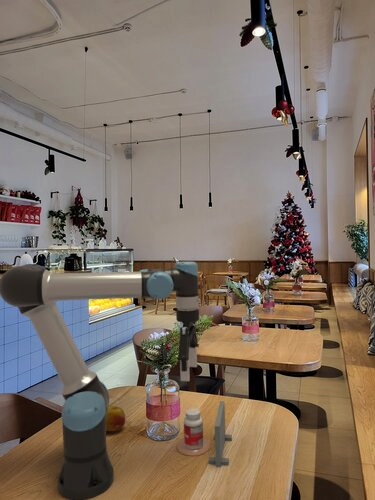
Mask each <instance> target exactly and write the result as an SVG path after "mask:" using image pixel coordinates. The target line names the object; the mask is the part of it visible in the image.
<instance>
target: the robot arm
mask: <svg viewBox="0 0 375 500" xmlns="http://www.w3.org/2000/svg"><path fill="white" fill-rule="evenodd" d="M173 292H175V309H176V311H175V316H176V321H177V322H178V323H181V324H182V326H180V327H179V343H178V357H177V361H179V368H180V369H179V375H180V382H190V368H197V367H198V354H197V353H198V351H197V350H198V349H197V348H199V346H200V344H199V341H198V336H197V327H196V322H198V321H199V320H200V309H199V308H200V307H199V306H200V305H199V303H200V302H201V298H199V269H198V263H197V262H195V261H177V262H175V264H174V267H172V268H171V267H170V268H146V269H141V270H139V271H125V272H122V271H121V272H120V271H119V272H117V271H115V272H74V273H73V272H71V273H69V272H68V273H67V272H65V273H62V272H61V273H51V272H50V271H49V270H48V269H46V268H45V267H43V266H41V265H39V264H35V263H27V264H24V265H18V266H14V267H11V268H9V269H8V270H6V271H5V272H4V273H3V274H2V276H1V277H0V297H1V299H2V300H3V301H4V302H5V303H7V304H8V305H10V306H13V307H17V308H18V310H19V313H20V315H22V316H23V317H28V318H29V320H30V321H31V322H30V323H31V324H32V326H33V328H34V330H35V332H36V333H37V336H38V338H39V339H40V342H41V343H42V345H43V347H44V350H45V351H46V353H47V356H48V357H49V360H50V361H51V363H52V365H53V367H54V370H55V371H56V374H57V376H58V377H59V380H60V381H61V383H62V385H63V387H62V390H61V395H62V397H63V400H64V403H63V405H62V410H61V421H62V441H63V442H62V443H63V446H62V447H63V461H62V464H61V466H60V467H61V468H60V470H59V474H58V478H57V487H58V488H57V490H58V492H59V494H60V495H61V496H62V497H64V498H66V499H69V500H86V499H91V498H94V497H96V496H99V495H101V494H103V493H104V492H105V491H107V490H108V489H109V488H110V487H111V486H112V484H113V482H114V480H115V476H114V474H115V473H114V467H113V464H112V461H111V459H110V456H109V453H108V450H107V431H106V417H107V410H108V406H110V394H109V393H110V392H109V390H108V388H107V387H106V384H104V383H103V382H102V381H101V380H100V378H99V377H98V375H97V373H96V372H94V371H90V369H89V367H88V366H87V364H86V362H85V360H84V358H83V356H82V353H81V351H80V350H79V348H78V345H77V343H76V341H75V340H74V338H73V336H72V334H71V332H70V329H69V328H68V325H67V324H66V321H65V320H64V318H63V316H62V313H61V311H60V310H59V308H58V305H57V302H58V301H81V300H83V301H84V300H112V299H113V300H114V299H116V300H117V299H149V298H151V299H152V298H153V299H156V300H164V299H166V298H168V297H169V296H170V295H171V294H172V293H173Z"/></svg>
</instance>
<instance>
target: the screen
mask: <svg viewBox="0 0 375 500" xmlns="http://www.w3.org/2000/svg"><path fill="white" fill-rule="evenodd" d="M225 405H226V404H225V401H223V400H220V401H219V403H218V409H217V413H216V417H215V421H214V422H215V423H214V434H213V441H214V452H215V455H214V456H208V464H209V465H215V467H219V468H220V467H222V466H229V465H230V458H228V457H223V455H224V448H225V442H226V441H228V442H233V441H232V439H233V435H232V434H226V411H225V410H226V409H225V408H226V407H225Z"/></svg>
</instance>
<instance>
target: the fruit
mask: <svg viewBox="0 0 375 500" xmlns="http://www.w3.org/2000/svg"><path fill="white" fill-rule="evenodd" d="M125 423H126V414H125V412H124V409H123V408H121V407H119V406H115V405H108V410H107V417H106V432H117V431H120V430H121V429H122V428H123V427H124V426H125Z"/></svg>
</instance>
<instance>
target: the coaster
mask: <svg viewBox="0 0 375 500" xmlns="http://www.w3.org/2000/svg"><path fill="white" fill-rule="evenodd" d="M211 445H212V444H211V442H210V441H209V439H207V438H205V437H203V446H202V447H201V448H199V449H195V450H192V449H188V448H186V447H185V443H184V437H183V438H181V439H180V440H179V441H178V442H177V443H176V450H177V451H178V452H179V454H182V455H184V456H188V457H197V456H203V455H205V454H207V453H208V452H209V451H210V450H211Z"/></svg>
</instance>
